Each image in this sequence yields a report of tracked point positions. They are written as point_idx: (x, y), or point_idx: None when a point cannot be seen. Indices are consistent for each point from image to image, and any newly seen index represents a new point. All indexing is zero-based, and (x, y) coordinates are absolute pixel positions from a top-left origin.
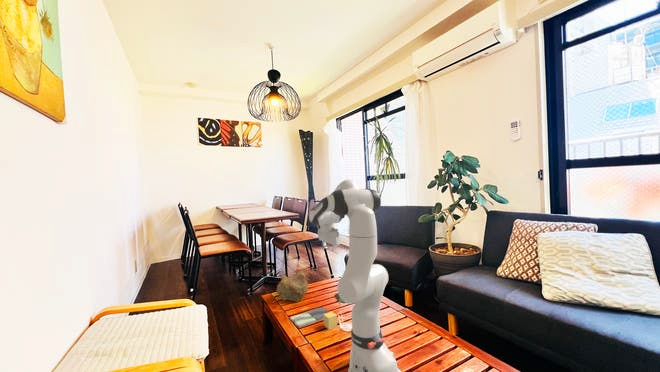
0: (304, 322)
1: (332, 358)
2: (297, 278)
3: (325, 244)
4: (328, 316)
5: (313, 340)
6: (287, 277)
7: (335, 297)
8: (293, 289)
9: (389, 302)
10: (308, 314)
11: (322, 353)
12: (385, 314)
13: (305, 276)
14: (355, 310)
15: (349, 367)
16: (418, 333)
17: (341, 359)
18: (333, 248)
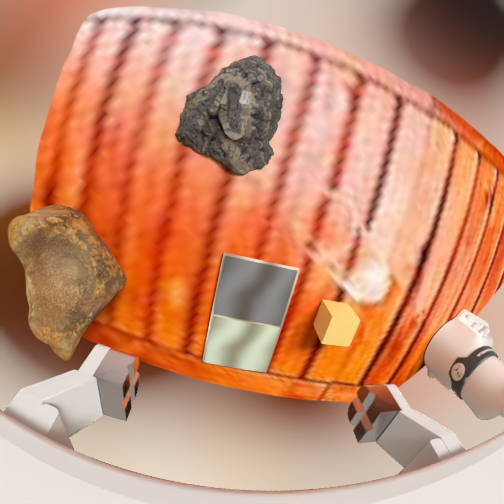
0: (261, 356)
1: (395, 375)
2: (36, 255)
3: (84, 398)
4: (343, 341)
5: (333, 374)
6: (33, 310)
7: (196, 151)
8: (97, 313)
9: (386, 72)
10: (232, 322)
11: (373, 381)
12: (419, 155)
13: (40, 220)
14: (488, 419)
15: (430, 372)
16: (491, 199)
17: (409, 366)
18: (397, 445)
